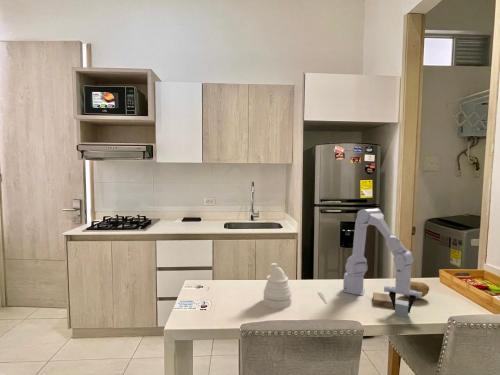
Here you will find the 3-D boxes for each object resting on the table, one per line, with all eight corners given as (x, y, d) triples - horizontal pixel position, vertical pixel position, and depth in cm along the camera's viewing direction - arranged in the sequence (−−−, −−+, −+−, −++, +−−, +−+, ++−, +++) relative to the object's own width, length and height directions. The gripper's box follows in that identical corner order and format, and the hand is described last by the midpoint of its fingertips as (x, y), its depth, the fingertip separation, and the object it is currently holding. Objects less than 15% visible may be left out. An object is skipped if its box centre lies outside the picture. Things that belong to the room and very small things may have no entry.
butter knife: (323, 292, 163) (317, 291, 163) (338, 317, 136) (331, 317, 136) (323, 293, 163) (317, 292, 163) (338, 319, 136) (331, 318, 136)
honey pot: (259, 306, 147) (260, 266, 145) (268, 295, 159) (268, 259, 157) (287, 310, 142) (288, 270, 141) (294, 299, 154) (295, 262, 153)
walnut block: (373, 305, 149) (374, 299, 149) (373, 298, 158) (373, 292, 158) (395, 308, 147) (395, 302, 146) (393, 301, 155) (393, 294, 155)
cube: (394, 314, 140) (395, 303, 139) (395, 310, 144) (396, 299, 144) (407, 317, 137) (408, 306, 137) (408, 313, 142) (408, 301, 141)
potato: (433, 302, 153) (434, 286, 152) (402, 301, 154) (403, 284, 153) (423, 294, 163) (424, 278, 162) (394, 293, 163) (395, 277, 163)
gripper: (383, 279, 139) (382, 310, 140) (422, 285, 133) (420, 318, 134) (385, 274, 146) (384, 304, 147) (422, 280, 139) (420, 311, 140)
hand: (401, 310), depth 140 cm, fingers closed on cube, 5 cm apart
